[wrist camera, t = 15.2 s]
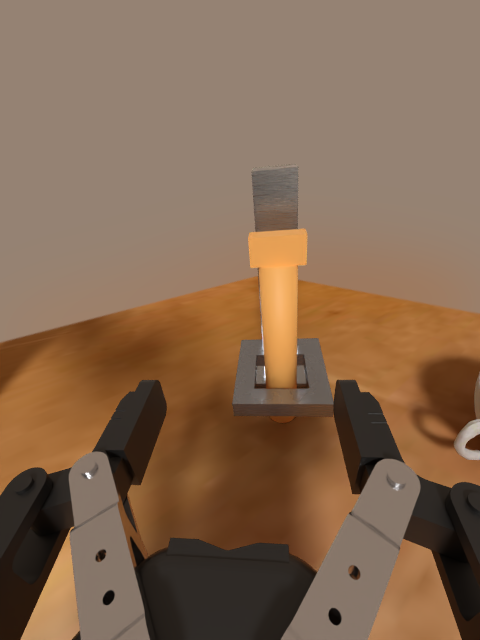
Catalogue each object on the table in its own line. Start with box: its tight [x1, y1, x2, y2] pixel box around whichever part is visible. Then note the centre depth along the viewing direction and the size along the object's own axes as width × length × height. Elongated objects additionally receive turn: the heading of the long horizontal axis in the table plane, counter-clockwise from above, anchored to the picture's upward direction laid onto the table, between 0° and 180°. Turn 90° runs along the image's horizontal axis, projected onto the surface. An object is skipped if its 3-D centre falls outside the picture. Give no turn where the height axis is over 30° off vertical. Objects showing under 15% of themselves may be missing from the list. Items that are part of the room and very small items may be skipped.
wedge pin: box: [248, 229, 307, 423], centre depth 28 cm, size 4×3×20 cm
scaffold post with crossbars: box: [232, 164, 334, 417], centre depth 35 cm, size 28×9×24 cm, turn 175°
